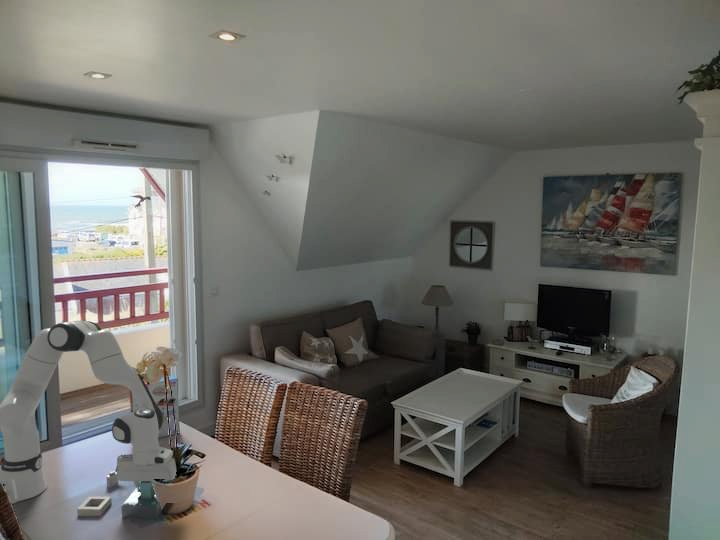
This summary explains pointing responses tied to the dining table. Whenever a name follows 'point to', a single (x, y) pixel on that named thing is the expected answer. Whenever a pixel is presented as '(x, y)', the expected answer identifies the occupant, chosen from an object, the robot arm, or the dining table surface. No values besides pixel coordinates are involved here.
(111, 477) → the lighter
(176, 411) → the game box
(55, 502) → the dining table surface
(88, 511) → the cream square frame
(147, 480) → the robot arm
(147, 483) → the plug
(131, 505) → the panel
